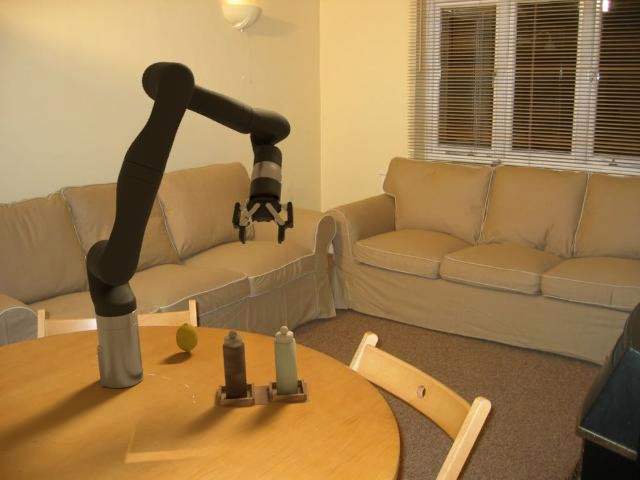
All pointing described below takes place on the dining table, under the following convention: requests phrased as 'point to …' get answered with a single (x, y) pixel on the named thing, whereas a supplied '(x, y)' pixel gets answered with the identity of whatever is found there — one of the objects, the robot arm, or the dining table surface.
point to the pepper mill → (234, 366)
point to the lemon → (187, 337)
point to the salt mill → (285, 362)
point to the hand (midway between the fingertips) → (261, 242)
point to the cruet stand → (261, 395)
